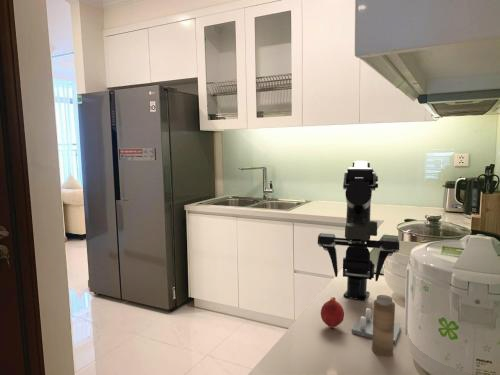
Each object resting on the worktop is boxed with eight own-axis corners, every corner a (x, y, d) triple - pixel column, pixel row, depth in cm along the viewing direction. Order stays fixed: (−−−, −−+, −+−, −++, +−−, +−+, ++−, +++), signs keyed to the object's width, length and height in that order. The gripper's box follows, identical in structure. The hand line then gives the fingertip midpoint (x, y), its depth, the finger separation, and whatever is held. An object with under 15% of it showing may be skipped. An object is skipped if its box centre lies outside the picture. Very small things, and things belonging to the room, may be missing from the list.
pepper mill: (374, 343, 83) (376, 292, 82) (394, 348, 81) (396, 296, 80) (369, 352, 80) (372, 299, 78) (390, 358, 77) (393, 303, 76)
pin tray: (360, 319, 95) (360, 305, 94) (400, 329, 90) (401, 314, 89) (351, 332, 88) (352, 317, 87) (394, 344, 83) (395, 328, 82)
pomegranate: (342, 335, 87) (343, 304, 86) (318, 331, 89) (319, 300, 88) (345, 324, 92) (345, 294, 91) (322, 320, 94) (323, 291, 93)
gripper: (317, 205, 85) (312, 272, 81) (402, 209, 79) (401, 282, 75) (321, 215, 95) (318, 275, 91) (397, 219, 90) (396, 283, 86)
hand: (356, 279), depth 86 cm, fingers open, 9 cm apart
